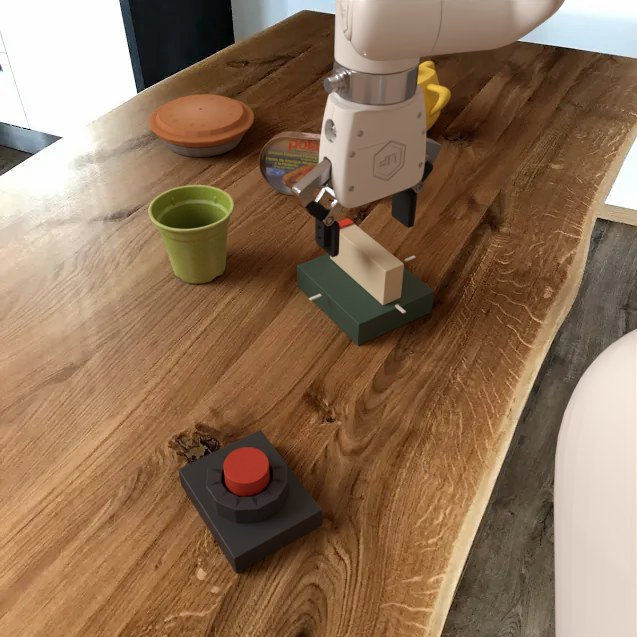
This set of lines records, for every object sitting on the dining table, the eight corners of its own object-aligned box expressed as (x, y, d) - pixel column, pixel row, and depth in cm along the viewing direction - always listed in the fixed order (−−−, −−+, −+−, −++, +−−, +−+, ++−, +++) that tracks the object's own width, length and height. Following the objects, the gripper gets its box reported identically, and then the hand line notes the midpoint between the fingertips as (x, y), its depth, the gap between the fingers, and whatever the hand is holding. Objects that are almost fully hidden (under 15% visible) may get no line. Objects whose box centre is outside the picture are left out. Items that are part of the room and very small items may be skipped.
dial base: (452, 311, 81) (456, 288, 79) (347, 359, 75) (348, 336, 73) (376, 248, 90) (377, 226, 88) (276, 287, 84) (275, 265, 82)
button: (278, 483, 59) (277, 470, 58) (238, 504, 57) (237, 490, 56) (255, 453, 61) (254, 440, 60) (217, 473, 59) (215, 459, 58)
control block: (322, 525, 60) (322, 496, 57) (236, 574, 57) (232, 545, 54) (261, 445, 66) (259, 415, 64) (180, 484, 63) (175, 455, 60)
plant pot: (155, 296, 82) (144, 232, 77) (161, 248, 89) (151, 185, 84) (239, 292, 83) (233, 228, 77) (238, 244, 90) (233, 182, 84)
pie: (134, 158, 106) (129, 126, 103) (175, 112, 118) (171, 82, 115) (235, 171, 104) (233, 138, 100) (267, 123, 115) (265, 93, 112)
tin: (259, 191, 100) (256, 134, 94) (266, 180, 102) (263, 123, 96) (368, 206, 97) (371, 148, 91) (372, 194, 99) (375, 137, 94)
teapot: (449, 148, 109) (458, 82, 102) (364, 151, 108) (368, 84, 102) (431, 109, 119) (438, 46, 113) (353, 111, 119) (356, 48, 112)
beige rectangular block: (401, 297, 78) (404, 261, 74) (383, 305, 76) (385, 269, 73) (347, 251, 84) (348, 216, 81) (329, 258, 83) (330, 223, 80)
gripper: (317, 117, 60) (316, 281, 71) (476, 71, 67) (452, 227, 78) (271, 84, 64) (276, 243, 76) (423, 44, 71) (408, 195, 83)
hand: (365, 235), depth 77 cm, fingers open, 9 cm apart
